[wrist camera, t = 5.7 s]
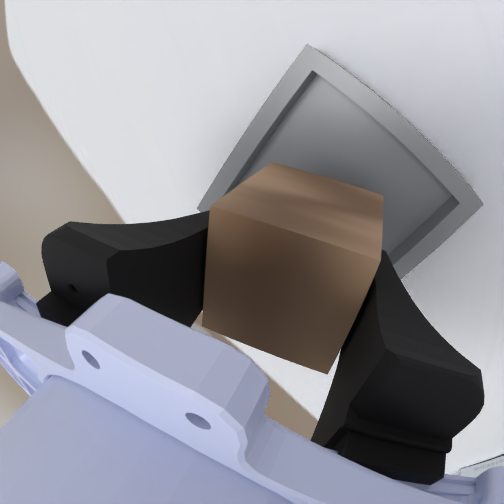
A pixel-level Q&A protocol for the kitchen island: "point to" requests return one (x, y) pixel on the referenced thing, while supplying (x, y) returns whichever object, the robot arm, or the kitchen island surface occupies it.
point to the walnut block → (291, 263)
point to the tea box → (481, 467)
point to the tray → (354, 155)
